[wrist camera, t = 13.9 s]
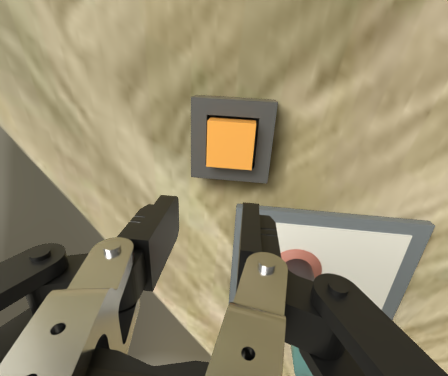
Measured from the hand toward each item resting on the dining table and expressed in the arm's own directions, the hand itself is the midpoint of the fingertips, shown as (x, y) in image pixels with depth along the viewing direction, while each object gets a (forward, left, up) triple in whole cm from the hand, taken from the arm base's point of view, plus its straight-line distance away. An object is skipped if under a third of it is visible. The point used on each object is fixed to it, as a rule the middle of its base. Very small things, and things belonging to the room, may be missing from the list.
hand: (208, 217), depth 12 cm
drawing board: (-12, +16, -17) cm, 26 cm away
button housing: (0, 0, -17) cm, 17 cm away
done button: (0, 0, -15) cm, 15 cm away
